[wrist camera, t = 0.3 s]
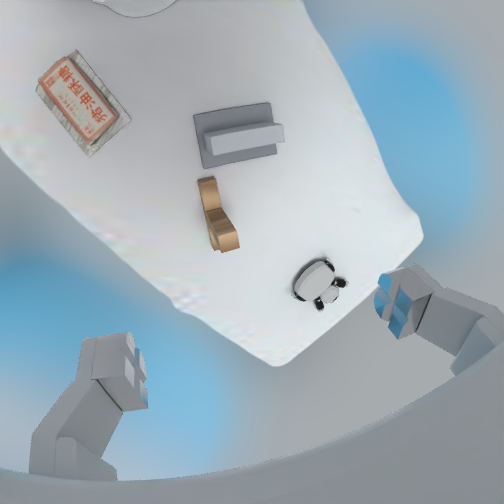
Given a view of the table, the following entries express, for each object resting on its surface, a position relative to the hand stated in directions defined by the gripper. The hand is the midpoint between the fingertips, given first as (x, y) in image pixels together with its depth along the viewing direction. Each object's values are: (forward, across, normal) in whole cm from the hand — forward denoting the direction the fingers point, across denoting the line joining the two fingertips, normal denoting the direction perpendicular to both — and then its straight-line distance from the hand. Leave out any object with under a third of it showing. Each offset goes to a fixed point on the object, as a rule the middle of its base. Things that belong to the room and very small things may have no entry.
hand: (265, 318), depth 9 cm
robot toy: (+47, -26, +42) cm, 68 cm away
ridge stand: (+48, -9, +4) cm, 49 cm away
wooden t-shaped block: (+47, -3, +18) cm, 50 cm away
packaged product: (+47, +18, -8) cm, 51 cm away
